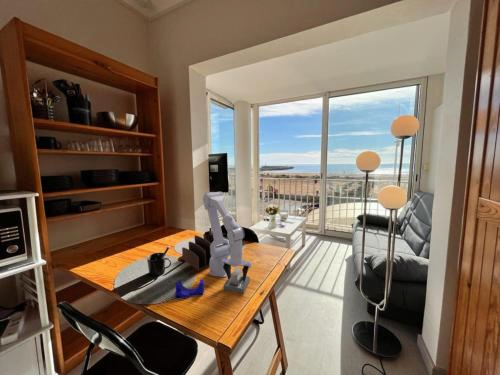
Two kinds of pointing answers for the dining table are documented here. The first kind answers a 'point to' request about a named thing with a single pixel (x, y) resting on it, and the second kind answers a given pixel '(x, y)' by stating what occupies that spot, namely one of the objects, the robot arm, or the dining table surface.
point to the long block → (236, 277)
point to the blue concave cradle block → (188, 290)
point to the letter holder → (197, 253)
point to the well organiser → (240, 289)
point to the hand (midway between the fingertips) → (236, 279)
